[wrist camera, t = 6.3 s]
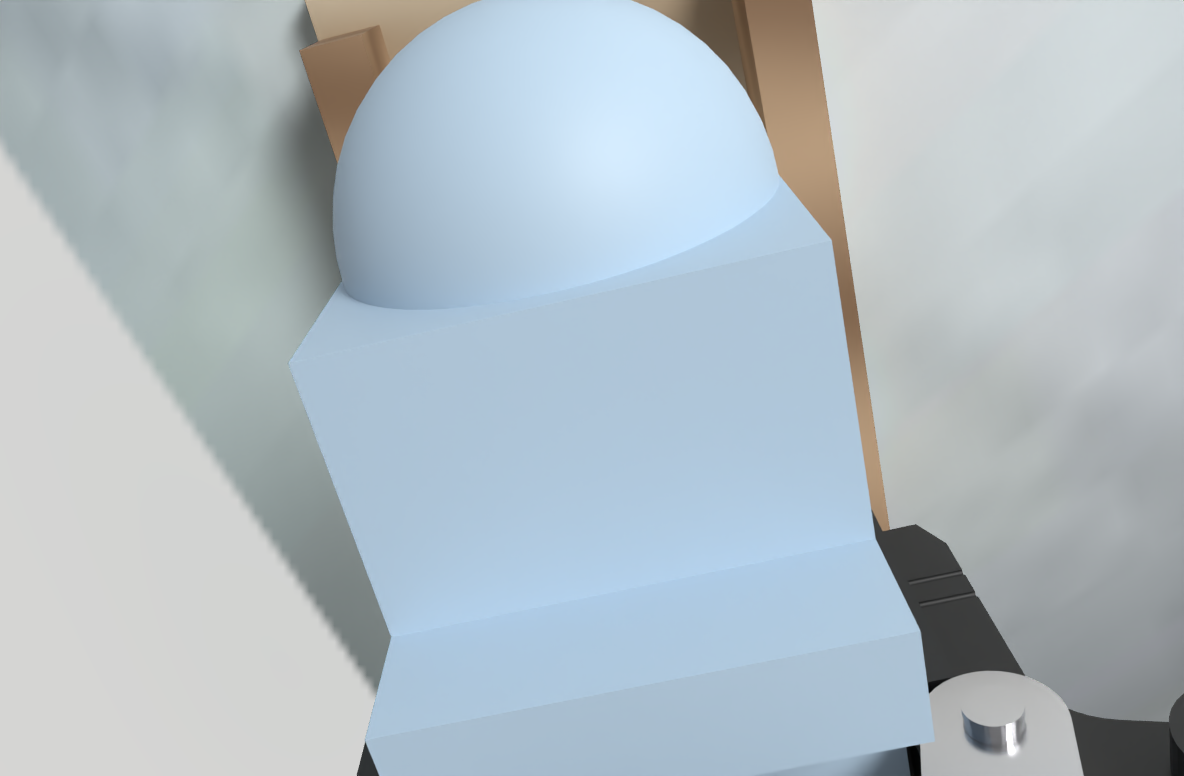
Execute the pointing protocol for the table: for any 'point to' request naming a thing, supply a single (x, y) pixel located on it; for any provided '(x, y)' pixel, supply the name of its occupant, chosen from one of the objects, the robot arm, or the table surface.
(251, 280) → the table surface
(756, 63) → the jig
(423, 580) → the light blue stepped block
